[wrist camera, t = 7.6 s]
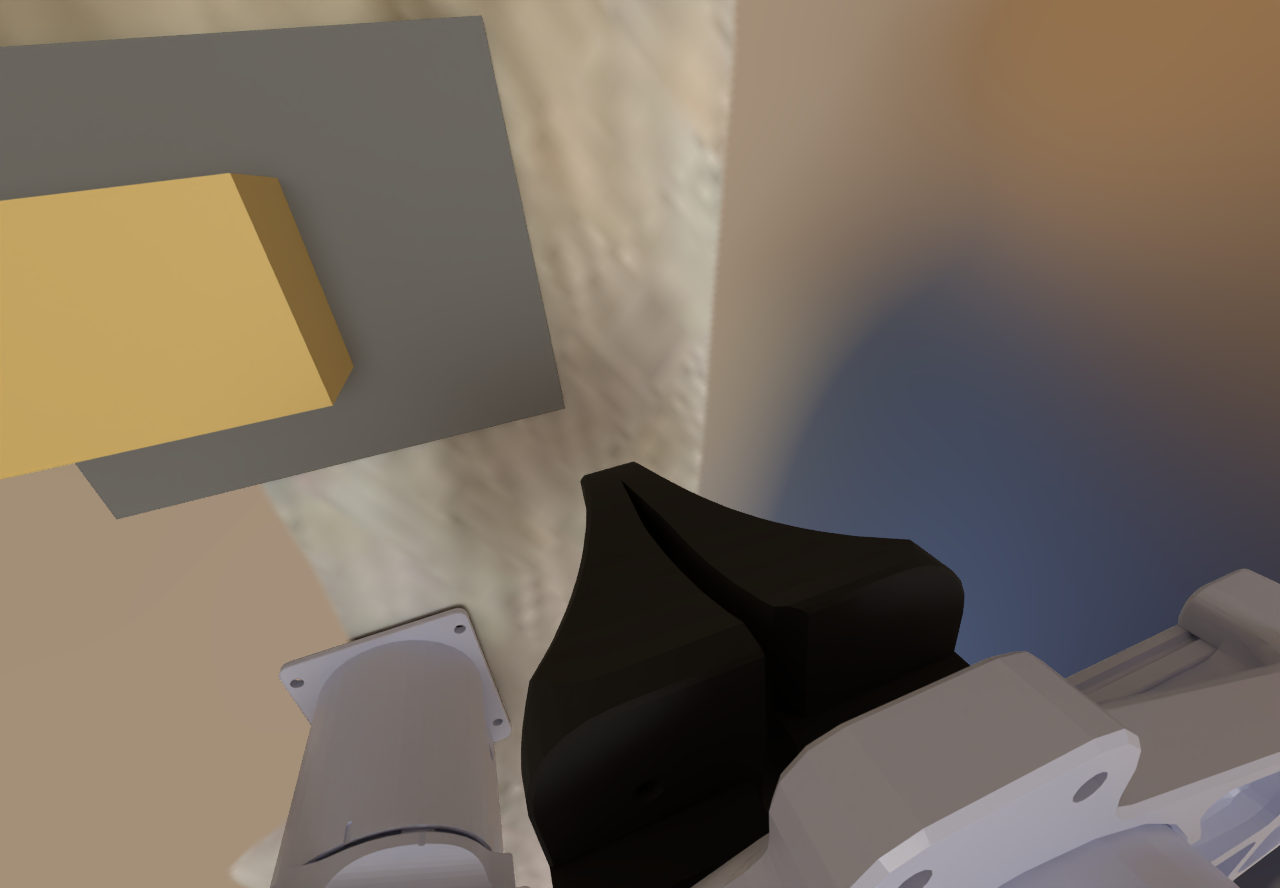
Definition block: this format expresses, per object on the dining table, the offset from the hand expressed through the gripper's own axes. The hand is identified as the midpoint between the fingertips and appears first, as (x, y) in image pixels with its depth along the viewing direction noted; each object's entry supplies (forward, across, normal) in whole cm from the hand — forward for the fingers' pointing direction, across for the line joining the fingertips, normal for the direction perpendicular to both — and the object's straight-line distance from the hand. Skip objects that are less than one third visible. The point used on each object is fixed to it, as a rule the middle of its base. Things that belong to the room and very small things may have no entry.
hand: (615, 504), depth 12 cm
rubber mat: (+10, +8, -5) cm, 14 cm away
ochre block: (+8, +6, -5) cm, 11 cm away
